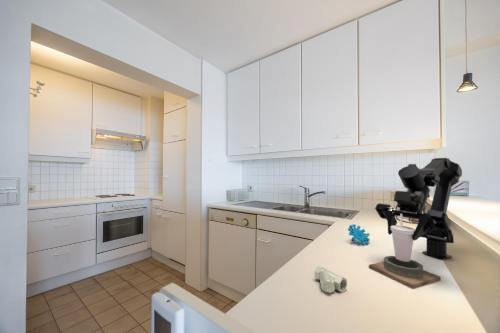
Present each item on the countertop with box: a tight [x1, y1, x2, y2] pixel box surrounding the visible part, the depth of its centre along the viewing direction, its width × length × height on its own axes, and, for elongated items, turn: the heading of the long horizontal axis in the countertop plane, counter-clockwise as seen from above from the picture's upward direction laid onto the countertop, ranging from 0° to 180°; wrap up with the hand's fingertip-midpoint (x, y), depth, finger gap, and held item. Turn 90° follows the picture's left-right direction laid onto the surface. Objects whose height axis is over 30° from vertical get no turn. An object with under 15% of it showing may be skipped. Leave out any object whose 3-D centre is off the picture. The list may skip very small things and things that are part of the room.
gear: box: [347, 223, 371, 246], centre depth 93 cm, size 11×6×10 cm
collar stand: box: [368, 255, 442, 290], centre depth 64 cm, size 13×13×4 cm
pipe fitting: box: [314, 265, 348, 294], centre depth 56 cm, size 8×4×7 cm
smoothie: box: [390, 214, 416, 262], centre depth 64 cm, size 6×6×14 cm
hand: (400, 236), depth 63 cm, fingers closed on smoothie, 6 cm apart
